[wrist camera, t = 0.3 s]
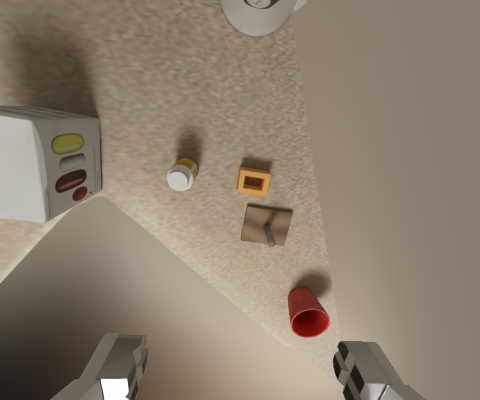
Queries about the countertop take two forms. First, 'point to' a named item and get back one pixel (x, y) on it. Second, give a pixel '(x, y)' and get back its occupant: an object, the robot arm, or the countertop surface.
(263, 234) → the peg mounting plate
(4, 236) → the countertop surface
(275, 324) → the countertop surface
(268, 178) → the orange hollow square block
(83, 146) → the supplement box
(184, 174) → the supplement bottle
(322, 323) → the flower pot
